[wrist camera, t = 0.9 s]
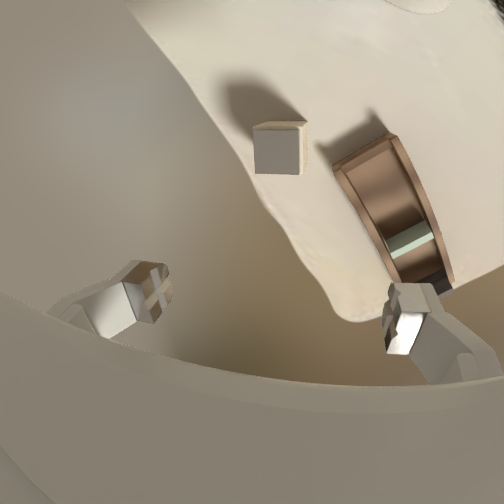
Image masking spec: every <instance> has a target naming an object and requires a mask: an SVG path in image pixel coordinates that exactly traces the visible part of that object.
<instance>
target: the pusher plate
mask: <svg viewBox="0 0 504 504" xmlns="http://www.w3.org/2000/svg"><path fill="white" fill-rule="evenodd" d="M433 238H434V236H433V234H432V231H431V230H430V228H429V227H428V225H427V224H426V222H425V221H424V220H423V221H422V222H420V223H418V224H416V225H414V226H412V227H410V228H408V229H407V230H405V231H403V232H401V233H399V234H397V235H395V236H393V237H391V238H389V239H387V240H386V243H387V246H388V249H389V252H390V254H391V256H392V259H394V258H396V257H398V256H400V255H402V254H404V253H406V252H408V251H410V250H412V249H414V248H416V247H418V246H420V245H422V244H424V243H426V242H428V241H429V240H431V239H433Z"/></svg>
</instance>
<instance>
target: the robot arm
mask: <svg viewBox="0 0 504 504" xmlns="http://www.w3.org/2000/svg"><path fill="white" fill-rule="evenodd" d="M386 1H388V2H389V3H391V4H393V5H396V6H398V7H400V8H403V9H406V10H409V11H412V12H417V13H424V14H432V13H438V12H441V11H443V10H444V9H446V8H447V7H448V6H449V5H450V3H451V2H452V0H386ZM168 275H169V271H168V268H167V266H166V265H165V264H164V263H156V262H149V261H141V260H132V261H130V262H129V263H128V264H127V265H126V266H125V267H124V268H122V269H121V270H120V271H119V272H118V273H117V274H116V275H115V276H114V277H113V278H111V279H110V280H108V279H107V280H105V281H102V282H100V283H97V284H95V285H92V286H90V287H87V288H85V289H82V290H80V291H77V292H75V293H72V294H70V295H68V296H66V297H63V298H61V299H60V300H59V301H58V302H57V303H56V304H54V305H53V306H52V307H51V308H50V309H49V310H48V311H47V312H46V313H44V312H42V311H40V310H38V309H36V308H34V307H32V306H30V305H28V304H26V303H24V302H22V301H20V300H18V299H16V298H14V297H13V296H11V295H9V294H7V293H5V292H0V504H504V375H503V372H502V369H501V367H500V364H499V361H498V359H497V356H496V354H495V351H494V350H493V349H492V348H491V347H490V346H489V345H487V344H486V343H485V342H484V341H483V340H482V339H480V338H479V337H478V336H477V335H476V334H474V333H473V332H472V331H471V330H469V329H468V328H467V327H466V326H464V325H463V324H462V323H461V322H459V321H458V320H457V319H455V318H454V317H453V316H451V315H450V314H449V313H445V312H444V310H443V307H442V305H441V303H440V301H439V298H438V296H437V294H436V292H435V290H434V288H433V285H432V284H430V283H391V284H390V286H389V289H388V297H389V300H388V301H387V302H386V303H385V304H384V308H383V314H382V328H383V330H384V331H385V332H386V335H385V338H384V341H385V348H386V353H387V354H409V356H410V358H411V359H412V360H413V362H414V363H415V364H416V365H417V367H418V368H419V369H420V371H421V372H422V373H423V374H424V376H425V377H426V378H427V380H428V381H429V383H430V384H431V385H422V386H421V385H420V386H397V387H396V386H392V387H372V386H371V387H370V386H366V387H365V386H342V385H341V386H340V385H327V384H315V383H304V382H295V381H286V380H279V379H271V378H265V377H258V376H252V375H245V374H240V373H235V372H229V371H224V370H219V369H215V368H210V367H205V366H200V365H196V364H192V363H188V362H184V361H180V360H176V359H172V358H168V357H165V356H161V355H158V354H154V353H151V352H147V351H144V350H141V349H137V348H134V347H131V346H128V345H125V344H122V343H119V342H116V341H113V340H111V339H109V338H111V337H112V336H114V335H116V334H117V333H119V332H120V331H122V330H124V329H125V328H127V327H128V326H130V325H132V324H133V323H135V322H136V321H137V320H138V321H142V322H147V323H152V324H155V322H156V321H157V320H158V318H159V317H160V316H161V314H162V308H164V307H166V306H168V305H169V303H170V302H171V299H172V296H173V287H172V283H171V282H170V281H169V280H168V278H167V277H168Z"/></svg>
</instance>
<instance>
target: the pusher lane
mask: <svg viewBox="0 0 504 504" xmlns="http://www.w3.org/2000/svg"><path fill="white" fill-rule="evenodd" d="M333 173H334V175H335V176H336V178H337V180H338V181H339V183H340V184H341V186H342V187H343V189H344V191H345V192H346V194H347V196H348V197H349V199H350V201H351V202H352V204H353V206H354V207H355V209H356V211H357V212H358V214H359V216H360V218H361V219H362V221H363V223H364V225H365V226H366V228H367V230H368V232H369V234H370V235H371V237H372V239H373V241H374V243H375V245H376V247H377V249H378V251H379V252H380V254H381V256H382V258H383V260H384V262H385V264H386V266H387V268H388V270H389V272H390V274H391V277H392V279H393V281H394V283H430V284H432V285H433V288H434V290H435V292H436V294H437V296H438V298H439V300H440V299H442V298H444V297H446V296H448V295H450V294H452V293H454V292H453V288H452V286H451V283H453V282H455V279H454V275H453V271H452V267H451V264H450V260H449V257H448V253H447V250H446V247H445V244H444V241H443V238H442V235H441V232H440V229H439V226H438V223H437V221H436V218H435V215H434V213H433V210H432V207H431V205H430V203H429V200H428V198H427V195H426V193H425V191H424V188H423V186H422V184H421V182H420V179H419V177H418V175H417V173H416V171H415V169H414V167H413V165H412V162H411V160H410V158H409V156H408V155H407V153H406V151H405V149H404V147H403V145H402V143H401V141H400V139H399V138H398V136H396V135H394V134H392V133H388V134H386V135H384V136H383V137H381V138H379V139H377V140H376V141H374V142H372V143H370V144H369V145H367V146H365V147H363V148H362V149H360V150H358V151H356V152H355V153H353V154H351V155H350V156H348V157H346V158H344V159H343V160H341V161H339V162H338V163H336V164H334V165H333ZM423 220H424V221H425V222H426V224H427V225H428V227H429V228H430V230H431V231H432V234H433V236H434V238H433V239H431V240H429V241H428V242H426V243H424V244H422V245H420V246H418V247H416V248H414V249H412V250H410V251H408V252H406V253H404V254H402V255H400V256H398V257H396V258H394V259H392V256H391V254H390V252H389V249H388V246H387V243H386V240H387V239H389V238H391V237H393V236H395V235H397V234H399V233H401V232H403V231H405V230H407V229H408V228H410V227H412V226H414V225H416V224H418V223H420V222H422V221H423Z"/></svg>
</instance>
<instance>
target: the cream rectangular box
mask: <svg viewBox="0 0 504 504" xmlns="http://www.w3.org/2000/svg"><path fill="white" fill-rule="evenodd" d="M253 144H254V161H255V174H290V175H303V174H304V171H305V167H306V164H307V161H308V121H267V122H264V123H262V124H259V125H256V126H253Z"/></svg>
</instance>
